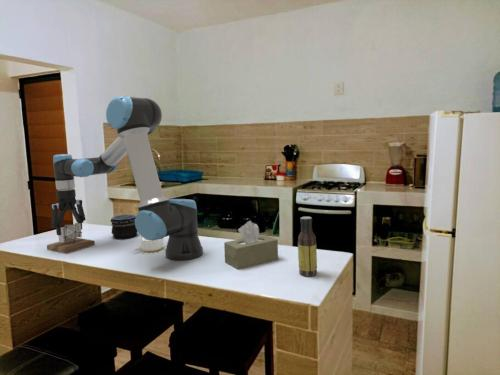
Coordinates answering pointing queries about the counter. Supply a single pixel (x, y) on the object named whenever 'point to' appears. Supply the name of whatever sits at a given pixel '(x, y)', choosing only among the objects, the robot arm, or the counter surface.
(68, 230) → the game die
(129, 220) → the container
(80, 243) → the board
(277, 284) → the counter surface
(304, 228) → the sauce bottle
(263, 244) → the tissue box
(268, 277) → the counter surface
